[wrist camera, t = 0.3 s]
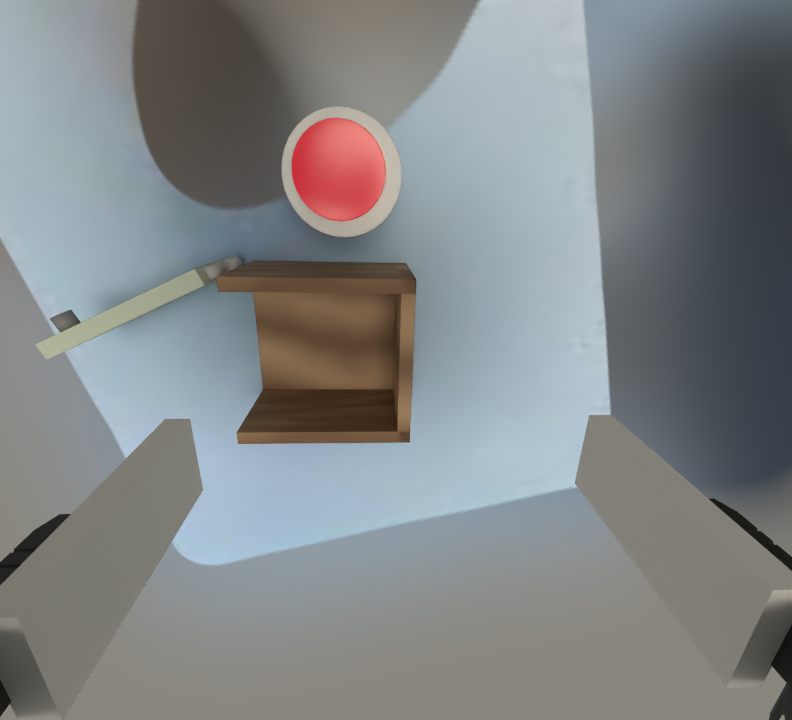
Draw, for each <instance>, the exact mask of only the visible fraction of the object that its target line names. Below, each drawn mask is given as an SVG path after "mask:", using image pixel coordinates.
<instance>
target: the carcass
mask: <svg viewBox="0 0 792 720" xmlns="http://www.w3.org/2000/svg"><path fill="white" fill-rule="evenodd" d="M216 280H217V287H218V291H219V292H253V293H254V303H255V313H256V323H257V333H258V343H259V352H260V362H261V372H262V382H263V391H262V392H261V394H260V395H259V397H258V399H257V400H256V402H255V404H254V405H253V407H252V409H251V410H250V412H249V413H248V415H247V417H246V418H245V420H244V422H243V423H242V425H241V427H240V428H239V430H238V431H237V438H238V444H270V443H391V442H410V419H411V395H412V371H413V347H414V323H415V299H416V278H415V277H414V275H413V274H412V272H411V270H410V269H409V267H408V266H407V264H406V263H354V262H298V261H252V262H249V263H247V264H245V265H242V266H240V267H238V268H235V269H233V270H231V271H228V272H226V273H224V274H221V275H219V276H216Z"/></svg>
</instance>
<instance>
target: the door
mask: <svg viewBox="0 0 792 720" xmlns="http://www.w3.org/2000/svg"><path fill="white" fill-rule="evenodd" d="M242 265H243V261H242V259H241V258H239V257H238V256H237V255H234V256H231V257H228V258H225V259H222V260H219V261H216V262H213V263H210V264H207V265H204V266H201V267H198V268H195V269H193V270H191V271H189V272H186V273H184V274H182V275H180V276H178V277H176V278H174V279H172V280H170V281H168V282H165V283H163V284H161V285H159V286H157V287H155V288H153V289H151V290H149V291H147V292H145V293H142V294H140V295H138V296H136V297H134V298H132V299H130V300H128V301H126V302H124V303H122V304H119V305H117V306H115V307H113V308H111V309H109V310H107V311H105V312H103V313H101V314H98V315H96V316H94V317H92V318H90V319H88V320H86V321H84V322H82V323H81V322H80V321H79V319H78V318H77V317H76V316H75V314H74V313H73V312H72V310H69V311H66V312H64V313H61V314H59V315H56V316H54V317H52V318H50V320H51V321H52V322H53V323H54V325H55V326H56V327H57V329H58V330H59V331H60V332H61V333H59V334H57V335H55V336H52V337H50V338H48V339H46V340H44V341H42V342H40V343H38V344H36V345H35V346H36V347H37V348H38V349H39V350H40V352H41V353H42V354H43V356H44V357H45V358H46V359H49V358H51V357H53V356H56V355H58V354H60V353H62V352H64V351H67V350H69V349H71V348H73V347H75V346H78V345H80V344H82V343H84V342H86V341H88V340H91V339H93V338H95V337H97V336H99V335H102V334H104V333H106V332H108V331H110V330H112V329H115V328H117V327H119V326H121V325H123V324H125V323H127V322H130V321H132V320H134V319H136V318H138V317H140V316H142V315H144V314H147V313H149V312H151V311H153V310H155V309H157V308H159V307H161V306H164V305H166V304H168V303H170V302H172V301H174V300H176V299H178V298H181V297H183V296H185V295H187V294H189V293H191V292H193V291H195V290H197V289H200V288H202V287H204V286H206V285H208V284H210V283H212V282H214V281H217V280H216V276H219V275H221V274H224V273H226V272H228V271H231V270H233V269H235V268H238V267H240V266H242Z"/></svg>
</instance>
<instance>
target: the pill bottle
mask: <svg viewBox="0 0 792 720" xmlns="http://www.w3.org/2000/svg"><path fill="white" fill-rule="evenodd" d="M282 180H283V186H284V189H285V192H286V195H287V197H288V200H289V202H290V203H291V205H292V207H293V208H294V210H295V211H296V213H297V214H298V215H299V216H300V217H301V218H302V220H304V221H305V222H306V223H307V224H308V225H310V226H311V227H312V228H314V229H316V230H318V231H319V232H321V233H324V234H327V235H330V236H334V237H343V238H346V237H356V236H359V235H362V234H365V233H367V232H369V231H371V230H373V229H375V228H376V227H377V226H379V225H380V224H381V223H382V222H383V221H384V220H385V219H386V218H387V217H388V215H389V214H390V213H391V211H392V210H393V208H394V206H395V204H396V202H397V199H398V196H399V192H400V189H401V180H402V171H401V162H400V158H399V154H398V150H397V148H396V146H395V144H394V142H393V140H392V138H391V136H390V135H389V134H388V132H387V131H386V129H385V128H384V127H383V126H382V125H381V124H380V123H379V122H378V121H377V120H376V119H374V118H373V117H371V116H370V115H368V114H366V113H365V112H363V111H360V110H357V109H355V108H352V107H344V106H333V107H326V108H323V109H320V110H317V111H315V112H313V113H311V114H310V115H308V116H306V117H305V118H304V119H303V120H302V121H301V122H300V123H299V124H298V125H297V126H296V127H295V128H294V130H293V131H292V133H291V134H290V136H289V138H288V141H287V143H286V145H285V148H284V152H283V157H282Z"/></svg>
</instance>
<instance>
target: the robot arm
mask: <svg viewBox="0 0 792 720" xmlns="http://www.w3.org/2000/svg"><path fill="white" fill-rule="evenodd" d="M575 484H576V485H577V486H578V488H579V489H580V490H581V492H582V493H583V495H584V496H585V497H586V498H587V500H588V501H589V503H590V504H591V505H592V507H593V508H594V509H595V511H596V512H597V513H598V515H599V516H600V517H601V519H602V520H603V522H604V523H605V524H606V526H607V527H608V528H609V530H610V531H611V532H612V534H613V535H614V537H615V538H616V539H617V541H618V542H619V543H620V544H621V546H622V547H623V549H624V550H625V551H626V553H627V554H628V555H629V557H630V558H631V560H632V561H633V562H634V564H635V565H636V566H637V568H638V569H639V570H640V572H641V573H642V575H643V576H644V577H645V579H646V580H647V581H648V583H649V584H650V585H651V587H652V588H653V589H654V591H655V592H656V593H657V595H658V596H659V598H660V599H661V600H662V601H663V603H664V604H665V606H666V607H667V608H668V610H669V611H670V612H671V614H672V615H673V616H674V618H675V619H676V621H677V622H678V623H679V625H680V626H681V627H682V629H683V630H684V631H685V633H686V634H687V636H688V637H689V638H690V640H691V641H692V642H693V644H694V645H695V646H696V648H697V649H698V650H699V652H700V653H701V655H702V656H703V657H704V659H705V660H706V661H707V663H708V664H709V665H710V667H711V668H712V669H713V671H714V672H715V674H717V676H718V678H719V679H720V680H721V682H722V683H723V684H724V686H725V687H726V688H737V687H757V686H762V684H763V682H764V680H765V678H766V676H767V674H768V672H769V671H770V669H771V667H772V666H773V668H774V669H775V670H776V671H777V672H778V673H779V674H780V676H781V677H782V678H783V679H784V680H785V681H786V682H787V683H786V685H785V687H784V689H783V691H782V692H781V694H780V696H779V698H778V700H777V702H776V703H775V705H774V707H773V709H772V710H771V713H770V717H769V720H779V719H780V717H781V715H784V716H785V720H792V557H791V556H790V555H789V554H788V553H786V552H785V551H784V550H783V549H782V548H780V547H779V546H778V545H774V544H773V541H772V540H771V539H770V538H768V537H767V536H766V535H765V534H764V533H762V532H760V531H757V528H756V527H755V526H754V525H753V524H751V523H750V522H749V521H748V520H747V519H745V518H744V517H743V516H742V515H741V514H739V513H738V512H737V511H735V510H733V509H731V508H730V507H728V506H726V505H724V504H723V503H721V502H719V501H717V500H715V499H708V498H707V497H705V496H704V495H703V494H702V493H701V492H700V491H699V490H697V489H696V488H695V487H694V486H693V485H691V484H690V483H689V482H688V481H687V480H686V479H685V478H683V477H682V476H681V475H680V474H679V473H678V472H677V471H675V470H674V469H673V468H672V467H671V466H670V465H668V464H667V463H666V462H665V461H664V460H663V459H661V458H660V457H659V456H658V455H657V454H656V453H654V452H653V451H652V450H651V449H650V448H649V447H648V446H646V445H645V444H644V443H643V442H642V441H641V440H639V439H638V438H637V437H636V436H635V435H634V434H633V433H631V432H630V431H629V430H628V429H627V428H625V427H624V426H623V425H622V424H621V423H620V422H618V421H617V420H616V419H615V418H614V417H613V416H612V415H589V419H588V424H587V428H586V433H585V438H584V442H583V447H582V452H581V456H580V461H579V466H578V471H577V475H576V480H575ZM202 491H203V487H202V482H201V477H200V471H199V466H198V460H197V455H196V449H195V444H194V439H193V433H192V428H191V422H190V419H165V420H164V421H163V422H162V423H161V424H160V425H159V426H158V427H157V428H156V429H155V430H154V431H153V432H152V433H151V434H150V435H149V436H148V437H147V438H146V439H145V440H144V441H143V442H142V443H141V444H140V445H139V446H138V447H137V448H136V449H135V450H134V451H133V452H132V453H131V454H130V455H129V456H128V457H127V458H126V459H125V460H124V461H123V462H122V463H121V464H120V466H118V467H117V468H116V469H115V470H114V471H113V472H112V474H110V475H109V477H107V478H106V479H105V480H104V481H103V482H102V483H101V484H100V485H99V486H98V487H97V489H96V490H95V491H93V493H92V494H91V495H90V496H89V497H88V498H87V499H86V500H85V501H84V502H83V503H82V504H81V505H80V506H79V507H78V508H77V509H76V510H75V511H74V512H73V513H72V514H60V515H58V516H56V517H55V518H53V519H51V520H50V521H48V522H47V523H46V524H43V525H42V526H40V527H39V528H37V529H36V530H34V531H33V532H32V533H31V534H30V535H29V536H28V537H27V538H25V539H24V540H23V541H22V542H21V543H20V544H19V545H18V546H17V547H16V548H15V549H14V552H13V553H10V554H9V555H8V556H6V557H5V558H4V559H3V560H2V561H1V562H0V716H1V715H2V713H3V712H4V711H5V709H6V708H7V707H8V705H9V704H10V705H11V707H12V709H13V711H14V713H15V715H16V717H17V719H18V720H64V718H65V717H66V715H67V713H68V711H69V710H70V708H71V707H72V705H73V703H74V702H75V700H76V698H77V697H78V695H79V693H80V692H81V690H82V688H83V687H84V685H85V683H86V682H87V680H88V679H89V677H90V675H91V674H92V672H93V670H94V669H95V667H96V665H97V664H98V662H99V660H100V659H101V657H102V655H103V654H104V652H105V651H106V649H107V647H108V646H109V644H110V642H111V641H112V639H113V637H114V636H115V634H116V632H117V631H118V629H119V628H120V626H121V624H122V623H123V621H124V619H125V618H126V616H127V614H128V613H129V611H130V609H131V608H132V606H133V604H134V602H135V601H136V599H137V598H138V596H139V595H140V593H141V591H142V589H143V588H144V586H145V585H146V583H147V581H148V580H149V578H150V576H151V575H152V573H153V571H154V570H155V568H156V566H157V565H158V563H159V562H160V560H161V558H162V557H163V555H164V553H165V552H166V550H167V548H168V547H169V545H170V543H171V542H172V540H173V539H174V537H175V535H176V534H177V532H178V530H179V529H180V527H181V525H182V524H183V522H184V520H185V519H186V517H187V515H188V514H189V512H190V510H191V509H192V507H193V506H194V504H195V502H196V501H197V499H198V497H199V496H200V494H201V492H202Z"/></svg>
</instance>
